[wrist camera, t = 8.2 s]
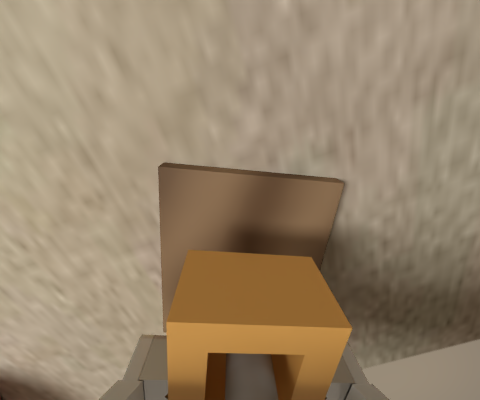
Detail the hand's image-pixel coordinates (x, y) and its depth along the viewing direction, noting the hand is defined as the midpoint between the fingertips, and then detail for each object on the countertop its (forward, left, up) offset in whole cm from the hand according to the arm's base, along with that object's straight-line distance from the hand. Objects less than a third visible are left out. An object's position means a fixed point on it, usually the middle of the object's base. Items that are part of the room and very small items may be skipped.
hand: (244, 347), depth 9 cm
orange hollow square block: (0, 0, -2) cm, 2 cm away
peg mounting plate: (0, 0, -6) cm, 6 cm away
